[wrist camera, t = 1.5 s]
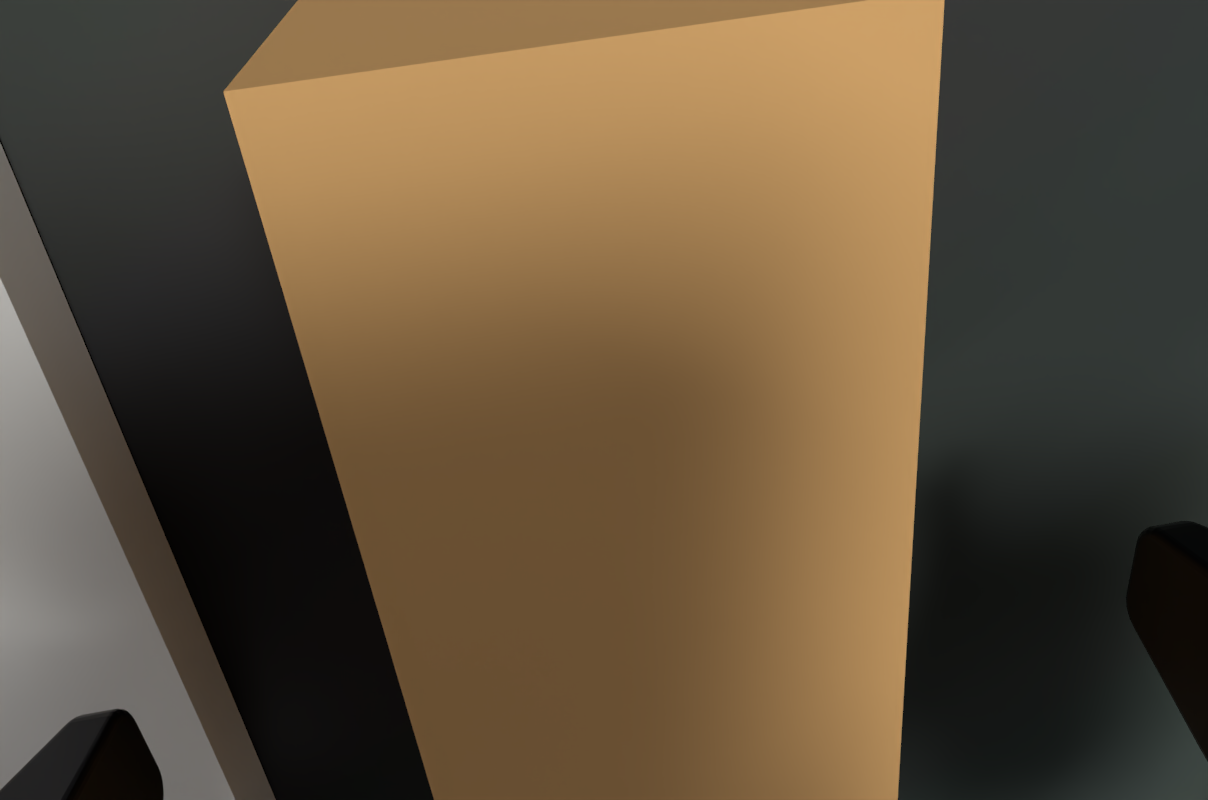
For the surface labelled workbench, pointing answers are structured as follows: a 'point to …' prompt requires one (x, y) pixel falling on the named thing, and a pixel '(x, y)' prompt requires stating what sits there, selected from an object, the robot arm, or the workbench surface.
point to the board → (92, 557)
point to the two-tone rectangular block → (617, 371)
